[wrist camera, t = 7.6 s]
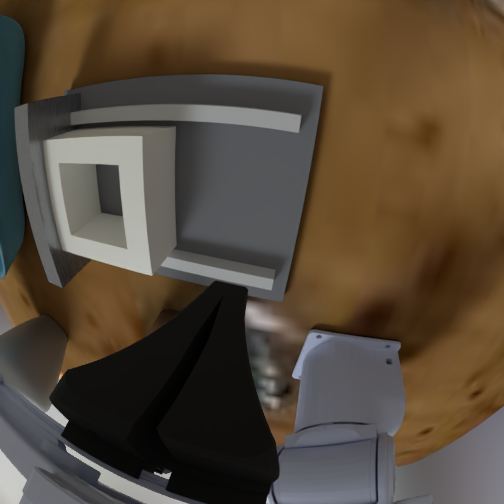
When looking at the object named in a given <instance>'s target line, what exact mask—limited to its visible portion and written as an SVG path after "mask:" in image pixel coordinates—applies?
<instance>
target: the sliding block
mask: <svg viewBox="0 0 504 504" xmlns="http://www.w3.org/2000/svg"><path fill="white" fill-rule="evenodd" d="M175 142H176V126H113V127H95V128H82V129H77V130H74V131H70V132H67V133H64V134H61V135H58V136H55V137H52V138H49V139H46V140H43V147H44V157H45V166H46V173H47V180H48V187H49V193H50V198H51V204H52V209H53V214H54V218H55V223H56V227H57V231H58V235H59V239H60V243H61V247H62V250H64V251H67V252H70V253H73V254H77V255H80V256H83V257H87V258H90V259H93V260H97V261H100V262H104V263H107V264H111V265H114V266H118V267H121V268H125V269H128V270H132V271H136V272H140V273H143V274H147V275H151V276H153V274H154V273H155V272H156V271H157V269H158V268H159V267H160V266H161V264H162V263H163V262H164V261H165V259H166V258H167V257H168V256H169V254H170V253H171V252H172V251H173V249H174V248H175V247H176V246H177V242H176V216H175ZM96 164H107V165H119V179H120V191H121V202H122V211H123V216H117V215H111V214H106V213H101V207H100V200H99V192H98V183H97V173H96Z"/></svg>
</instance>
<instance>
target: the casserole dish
mask: <svg viewBox="0 0 504 504" xmlns="http://www.w3.org/2000/svg"><path fill="white" fill-rule="evenodd" d="M24 59H25V39H24V33H23V30H22V27H21V26H20V24H19V23H18V22H17V21H16V20H14V19H12V18H10V17H8V16H4V15H1V14H0V279H2V278H4V277H5V276H6V274H7V272H8V270H9V268H10V266H11V264H12V262H13V261H14V259H15V257H16V255H17V253H18V251H19V249H20V247H21V245H22V242H23V238H24V231H25V217H24V207H23V197H22V186H21V177H20V170H19V163H18V155H17V145H16V133H15V107H18V106H20V99H21V87H22V78H23V69H24Z"/></svg>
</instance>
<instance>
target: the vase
mask: <svg viewBox="0 0 504 504" xmlns="http://www.w3.org/2000/svg"><path fill="white" fill-rule="evenodd" d="M67 342H68V339H67V336H66V334H65V332H64V331H63V330H62V328H61V327H60V326H59V325H58V324H57V323H56V322H55V321H54V320H53V319H52V318H51V317H49V316H47V315H45V314H43V315H41V316H39V317H36V318H33V319H31V320H28V321H26V322H24V323H22V324H20V325H18V326H16V327H14V328H12V329H11V330H9V331H7V332H5V333H4V334H2V335H0V374H1V375H2V376H3V378H4V379H5V380H6V381H7V382H8V383H9V384H10V385H12V386H13V387H14V388H15V389H16V390H17V391H18V392H19V393H21V394H22V395H23V396H24V397H25V398H26V399H28V400H29V401H30V402H31V403H33V404H34V405H35V406H36V407H38V408H39V409H40V410H41V411H43V412H44V413H45V412H47V411H48V410H49V408H50V406H51V404H52V403H51V401H50V399H49V396H50V395H51V393H52V391H53V390H54V388H55V387H56V385H57V382H58V379H59V375H60V371H61V368H62V364H63V360H64V355H65V350H66V346H67Z"/></svg>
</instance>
